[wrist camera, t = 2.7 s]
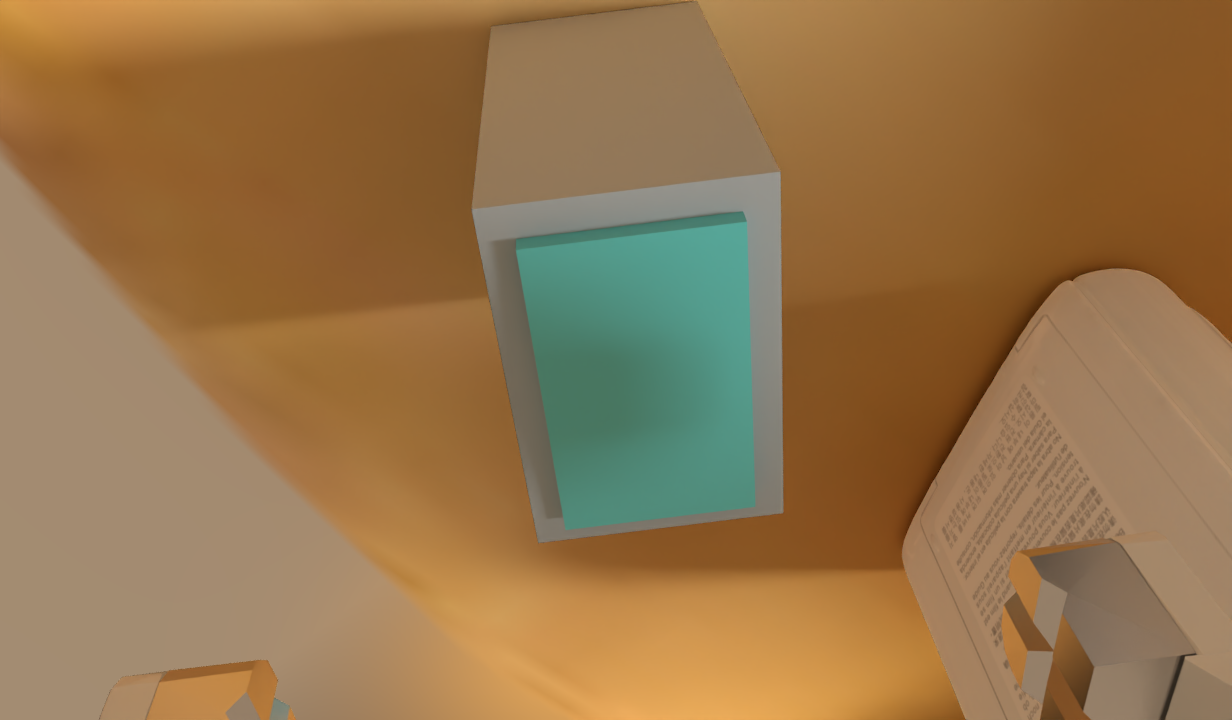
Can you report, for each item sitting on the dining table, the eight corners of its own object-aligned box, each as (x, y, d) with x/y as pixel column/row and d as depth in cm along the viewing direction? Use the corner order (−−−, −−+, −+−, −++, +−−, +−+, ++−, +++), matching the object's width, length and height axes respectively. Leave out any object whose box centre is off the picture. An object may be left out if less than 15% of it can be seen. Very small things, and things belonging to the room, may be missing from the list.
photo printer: (1008, 580, 30) (1258, 1060, 19) (874, 560, 29) (1062, 1051, 19) (1210, 280, 24) (1704, 730, 14) (1052, 244, 23) (1456, 696, 13)
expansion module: (696, 0, 20) (785, 180, 13) (710, 269, 23) (787, 526, 16) (491, 25, 20) (470, 219, 13) (536, 291, 23) (538, 556, 16)
